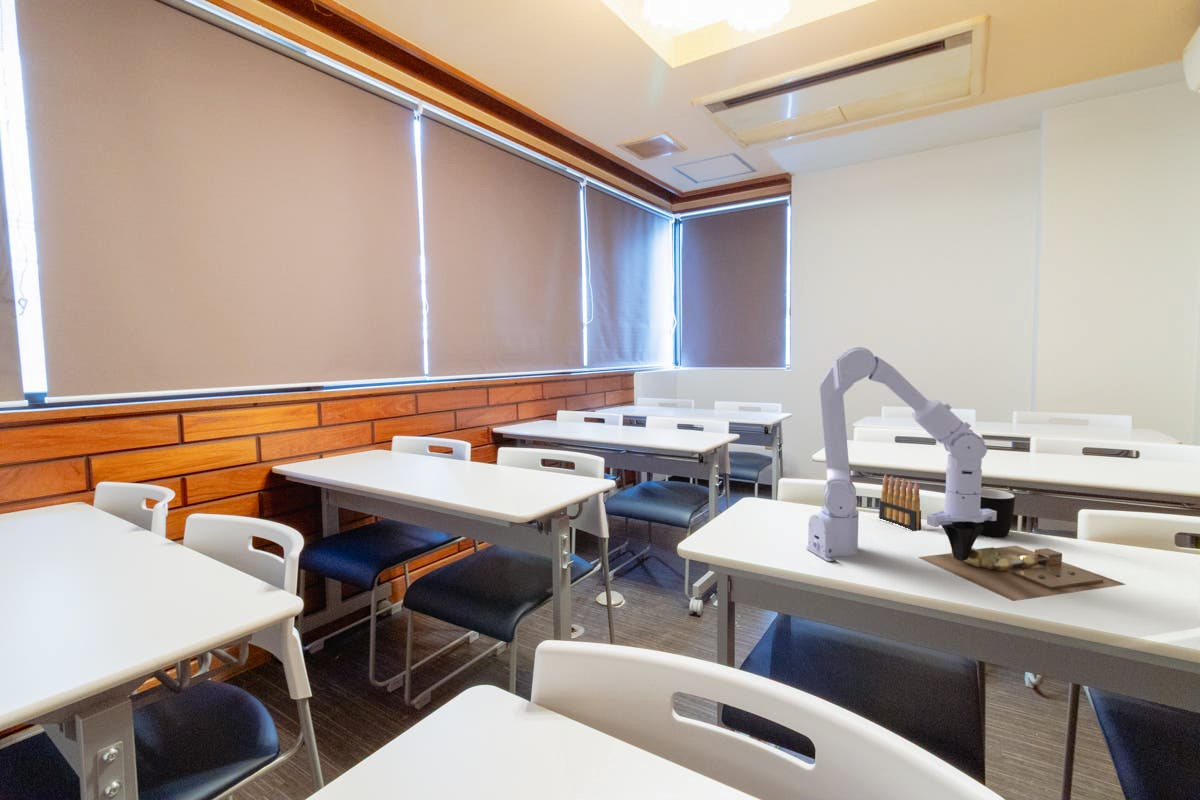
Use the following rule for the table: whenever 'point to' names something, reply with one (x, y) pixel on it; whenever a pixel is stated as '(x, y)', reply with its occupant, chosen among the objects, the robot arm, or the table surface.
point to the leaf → (1000, 559)
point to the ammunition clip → (900, 504)
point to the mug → (1004, 508)
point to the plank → (1009, 576)
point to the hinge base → (1055, 573)
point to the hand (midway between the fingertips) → (960, 558)
